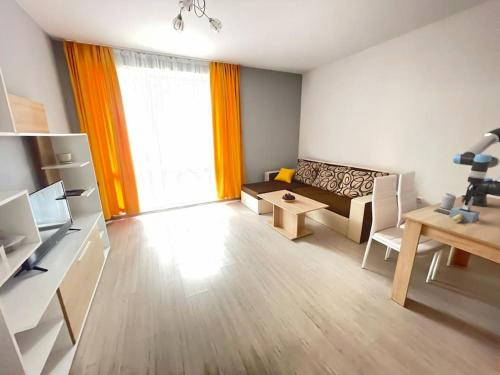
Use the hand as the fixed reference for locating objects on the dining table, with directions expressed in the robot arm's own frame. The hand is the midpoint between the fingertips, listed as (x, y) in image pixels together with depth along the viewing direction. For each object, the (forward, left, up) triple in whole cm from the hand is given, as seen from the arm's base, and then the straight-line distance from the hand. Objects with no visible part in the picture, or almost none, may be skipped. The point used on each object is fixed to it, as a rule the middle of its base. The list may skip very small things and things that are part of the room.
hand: (466, 208), depth 146 cm
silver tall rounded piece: (0, 0, -6) cm, 6 cm away
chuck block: (+5, 0, -7) cm, 9 cm away
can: (-14, -14, -8) cm, 21 cm away
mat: (-1, -12, -7) cm, 14 cm away
